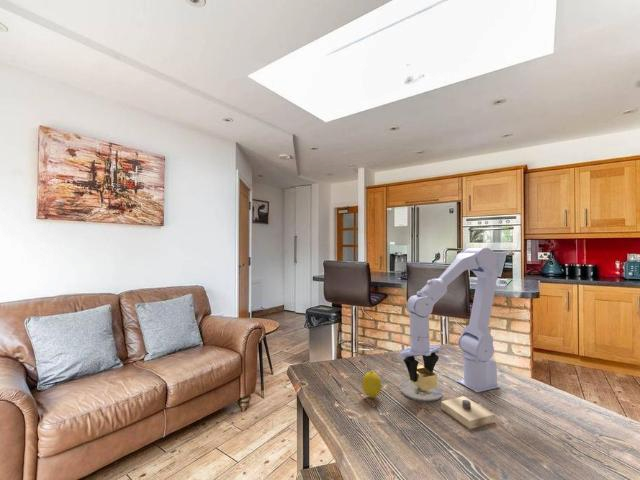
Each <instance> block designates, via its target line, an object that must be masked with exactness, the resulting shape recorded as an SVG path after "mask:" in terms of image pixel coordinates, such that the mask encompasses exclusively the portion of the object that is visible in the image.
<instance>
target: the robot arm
mask: <svg viewBox="0 0 640 480" xmlns="http://www.w3.org/2000/svg"><path fill="white" fill-rule="evenodd" d="M497 263H498V256H497V254H496V253H495V252H494V251H493V250H492V249H491V248H489V247H480V248H479V247H475V248H474V247H464V248H463V249H461V251H460V252H459V253H457V254H456V257H455V259H454V260H453V261H452V262H451V264H450V265H449V266H448V267H447V268H446V269H445V270H444V271H443V273H442V274H441V275H440V276H438V278H432V279H428V280H427V281H426V284H425V285H424V287H422V288H421V289H420V290H418V291H417V292H416V294H415V295H411V296H410V297H409V298H408V299H407V302H406V303H405V307H406V310H407V311H408V312H409V313H408V314H409V339H410V343H409V344H410V346H409V347H408V348H404V349H402V350H399V351H398V354H397V355H398V356H397V357H398V358H399V359H400V360H402V361H403V363H404V364H405V366H406V369H407V373H408V372H409V376H410V380H412V381H413V382H416V380H417V366H419V362H420V361H419V360H416V358H415V357H420V356H422V362H423V366H424V367H425V368H427V369H429V370H430V371H432V372H433V373H434V369H435V366H436V364H437V362H438V361H439V355H438V354H442V347H441V346H440V345H438V344H436V345H430V344H431V343H430V342H431V341H430V315H431V314H432V313H433V309H434V305H435V304H436V303H437V302H438V301H439V300H440V299H441V298H442V297H443V296H444V295H445V294H446V293H447V292H448V285H449V286H450V284H451V283H452V282H454V281H455V279H457V278H458V277H459V276H460V275H461V274H462V273H463V272H465V271H469V270H470V271H471V272H473V274H474V275H475V276H476V278H477V280H476V283H475V284H476V286H475V291H474V295H473V296H474V297H473V302H472V307H471V312H470V317H469V318H470V319H469V323H468V325H466V326H465V327H463V328H462V333H461V335H460V336H459V337H458V340H457V344H458V348H459V349H460V350H461V352H462V356H463V357H462V358H463V378H462V379H458V380H457V382H458V383H459V384H461V385H463V386H465V387H467V388H468V389H470V390H472V391H474V392H475V393H482V392H485V391H490V390H493V389H498V388H500V385H499V384H498V368H497V363H496V361H495V360H494V358H493V356H494V353H495V347H494V336H492V334H491V332H490V331H489V327H490V326H489V325H490V320H491V315H492V309H493V303H494V297H495V292H496V288H497V282H498V275H499V274H498V269H497V265H498V264H497Z"/></svg>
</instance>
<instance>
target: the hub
mask: <svg viewBox="0 0 640 480" xmlns="http://www.w3.org/2000/svg"><path fill="white" fill-rule="evenodd" d="M400 391H401V393H402V394H403V396H405V397H407V398H409V399H411V400H414V401H418V402H426V403H429V402H436V401H438V400H440V399H441V398H442V396H443V391H442V388H441V387H440V386H439V385H437V388H434V389H429V390H425V391H422V390H421V389H420V388H418V387H417V386H416V385H414V384H413V383H412V382H410V381H409V380H405V381H404V382H402V383H401V384H400Z"/></svg>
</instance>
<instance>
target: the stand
mask: <svg viewBox="0 0 640 480" xmlns="http://www.w3.org/2000/svg"><path fill="white" fill-rule="evenodd" d="M440 407H441V410H443V412H446V413H447V414H448V415H449V416H451V417H452V418H454V419H455V420H457V422H459V423H461V424H462V425H464V426H465V427H466V428H468V429H469V430H473V429H475V428H479V427H482V426H483V427H484V426H485V425H489V424H493V423H495V413H493V412H491V411H490V410H488V409H486V408H484V407H483V406H481V405H479V404H478V403H476V402H474V401H473V400H472V399H470V398H468V397H467V396H465V395H464V396H463V395H462V396H459V397H454V398H449V399H446V400H441V401H440Z"/></svg>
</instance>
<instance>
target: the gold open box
mask: <svg viewBox="0 0 640 480" xmlns="http://www.w3.org/2000/svg"><path fill="white" fill-rule="evenodd" d="M407 373H408V378H407V379H408V380H409V381H410V382H412V383H413V384H414V385H416V386H417V387H418V388H420V389H421V390H422V391H425V390H429V389H434V388H437V386H438V380H437V379H438V375H437V373H435V372H434V371H433V372H432V371H430V370H429V369H427V368H425V367H424V365H423V364H420V365H419V364H418V366H417V380H416V382H413V381H412V380H410V376H409V372H408V371H407ZM408 380H407V381H408Z"/></svg>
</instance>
